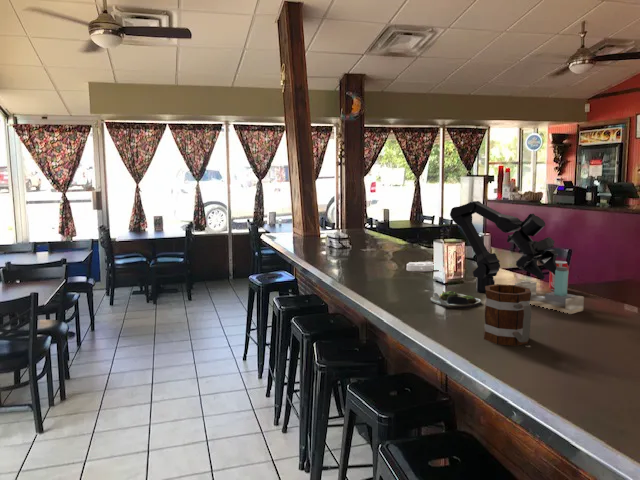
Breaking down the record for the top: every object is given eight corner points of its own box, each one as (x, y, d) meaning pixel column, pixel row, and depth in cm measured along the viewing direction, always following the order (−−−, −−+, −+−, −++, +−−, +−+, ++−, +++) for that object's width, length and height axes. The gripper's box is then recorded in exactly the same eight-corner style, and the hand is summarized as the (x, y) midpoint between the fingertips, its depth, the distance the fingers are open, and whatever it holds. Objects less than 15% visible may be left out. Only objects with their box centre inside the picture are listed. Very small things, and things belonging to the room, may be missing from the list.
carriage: (544, 299, 181) (546, 266, 179) (554, 296, 184) (556, 264, 183) (565, 303, 174) (567, 270, 173) (576, 301, 178) (577, 268, 176)
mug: (474, 331, 155) (476, 284, 153) (516, 330, 156) (518, 283, 154) (503, 354, 136) (505, 301, 134) (550, 352, 137) (553, 299, 135)
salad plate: (417, 300, 196) (417, 288, 195) (452, 294, 203) (453, 283, 203) (450, 312, 178) (450, 299, 178) (487, 305, 186) (488, 293, 185)
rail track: (514, 301, 191) (514, 282, 190) (526, 297, 195) (527, 279, 194) (571, 314, 172) (572, 293, 171) (583, 310, 176) (584, 290, 175)
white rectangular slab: (435, 266, 264) (445, 272, 249) (402, 267, 262) (409, 273, 248) (435, 260, 263) (445, 265, 249) (402, 261, 262) (410, 266, 247)
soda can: (569, 292, 203) (571, 263, 201) (551, 291, 204) (552, 263, 202) (565, 288, 210) (566, 260, 208) (547, 288, 211) (548, 260, 209)
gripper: (524, 232, 179) (551, 266, 171) (554, 228, 189) (581, 261, 181) (504, 251, 186) (530, 285, 178) (534, 246, 196) (560, 278, 189)
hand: (551, 277), depth 181 cm, fingers open, 9 cm apart
